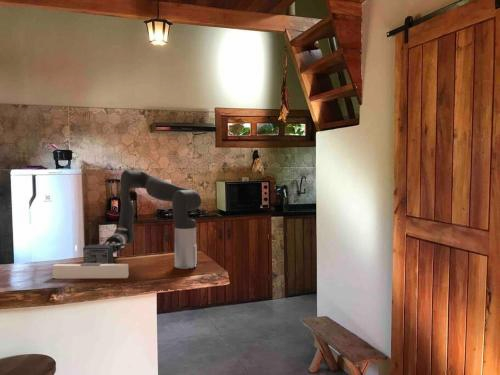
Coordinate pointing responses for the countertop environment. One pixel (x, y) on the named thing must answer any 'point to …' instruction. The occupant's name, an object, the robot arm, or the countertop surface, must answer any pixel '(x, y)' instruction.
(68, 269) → the board
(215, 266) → the countertop surface
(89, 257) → the small box
